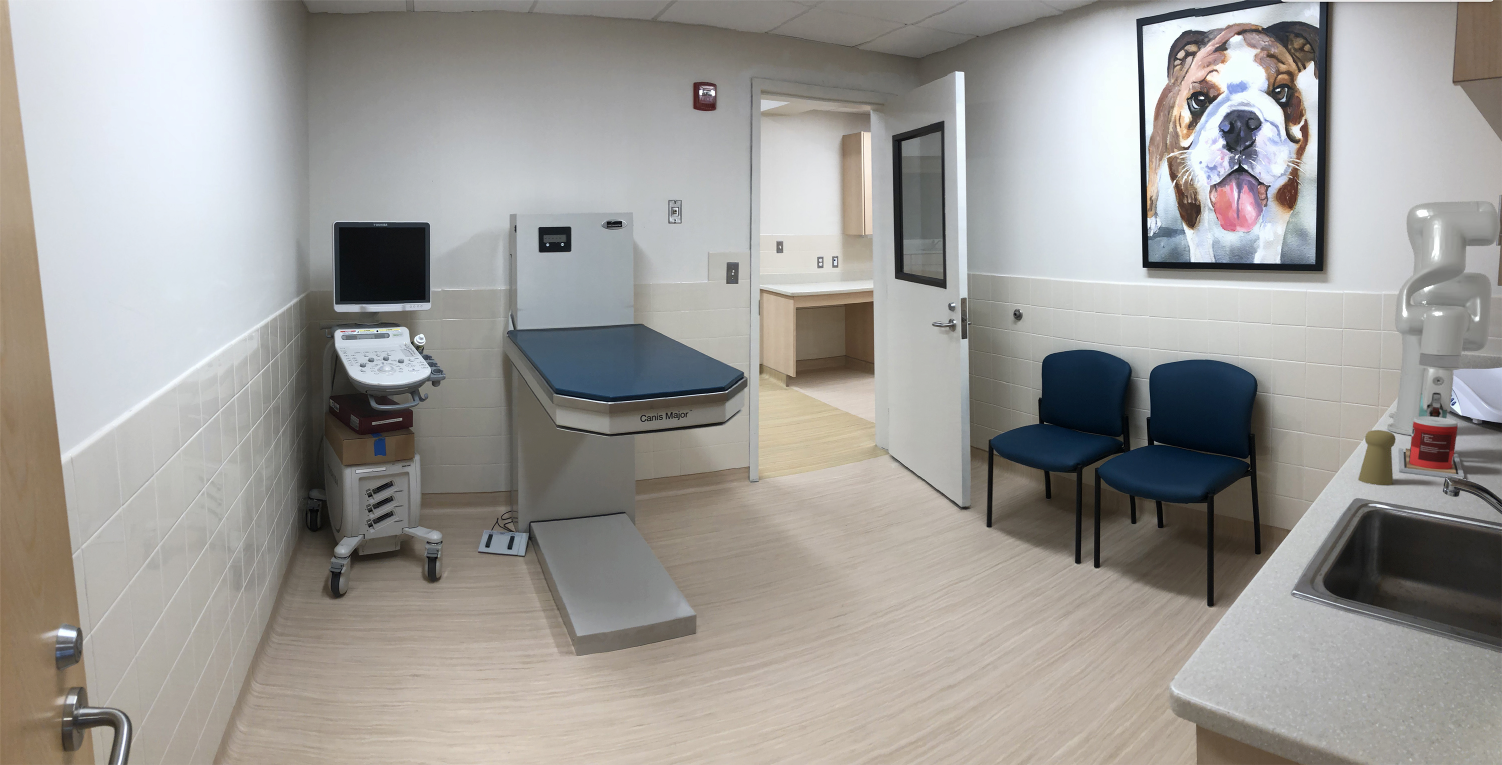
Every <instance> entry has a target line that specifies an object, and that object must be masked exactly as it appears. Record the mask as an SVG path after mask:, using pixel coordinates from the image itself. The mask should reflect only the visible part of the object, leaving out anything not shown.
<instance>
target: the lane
mask: <svg viewBox="0 0 1502 765" xmlns="http://www.w3.org/2000/svg"><path fill="white" fill-rule="evenodd" d="M1453 462H1454V466H1455V470H1456V474H1450V473H1442V472H1433V471H1425V470H1416V469H1408V468H1407V467H1406V451H1404V448H1398V469H1399V472H1398V473H1403V474H1410V475H1411V474H1412V475H1419V476H1428V477H1437V478H1443V476H1444V478H1445V477H1446V476H1457V477H1462V478H1464V479H1465V474H1464V470H1463V467H1462V465H1461V464H1462V463H1461V461H1460V457H1459V454H1455V453H1454V458H1453Z"/></svg>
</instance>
